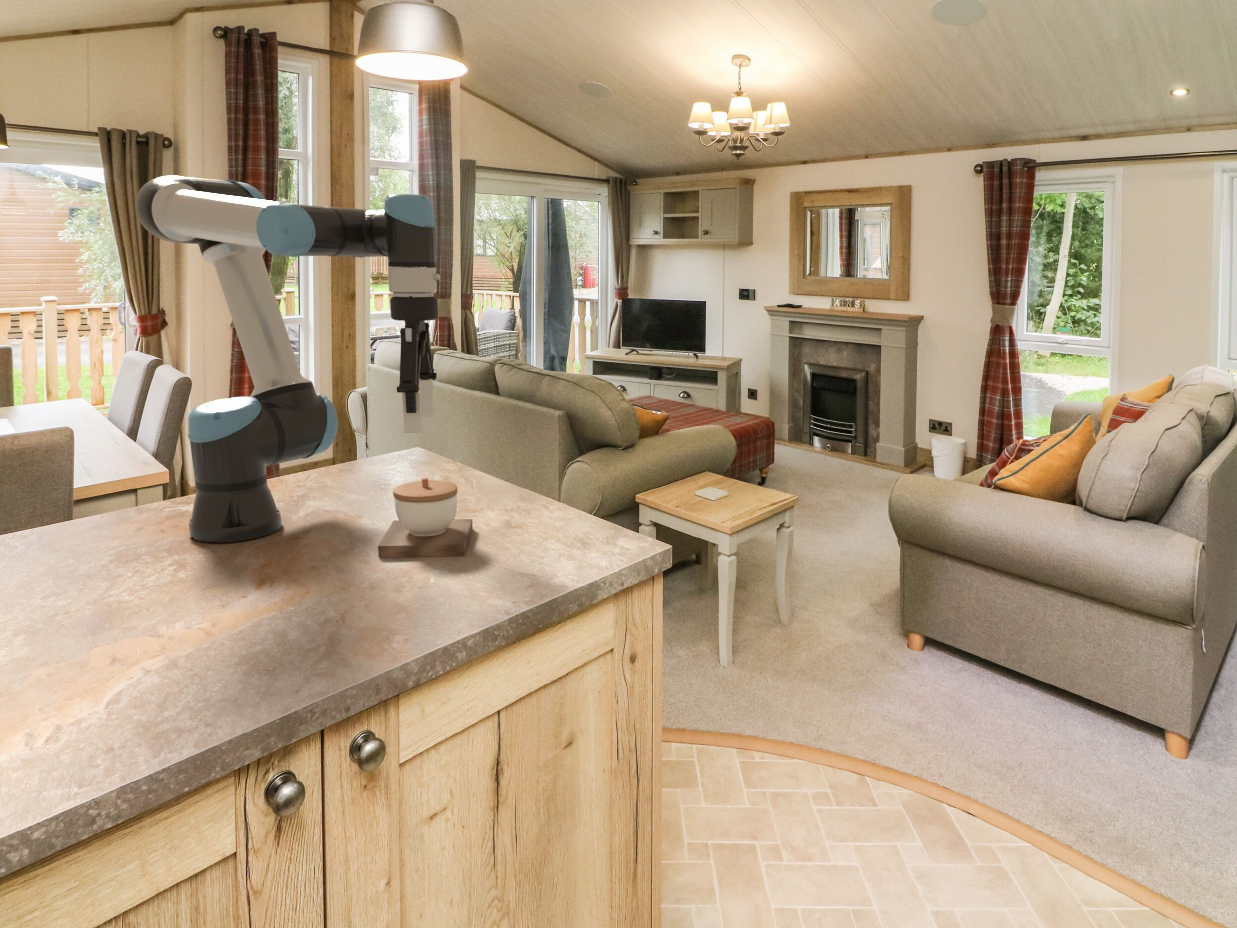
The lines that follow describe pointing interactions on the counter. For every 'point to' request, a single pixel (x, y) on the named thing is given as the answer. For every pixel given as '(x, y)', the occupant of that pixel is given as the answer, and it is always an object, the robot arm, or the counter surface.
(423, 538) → the walnut board
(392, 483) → the counter surface
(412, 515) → the lidded jar
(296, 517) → the counter surface
